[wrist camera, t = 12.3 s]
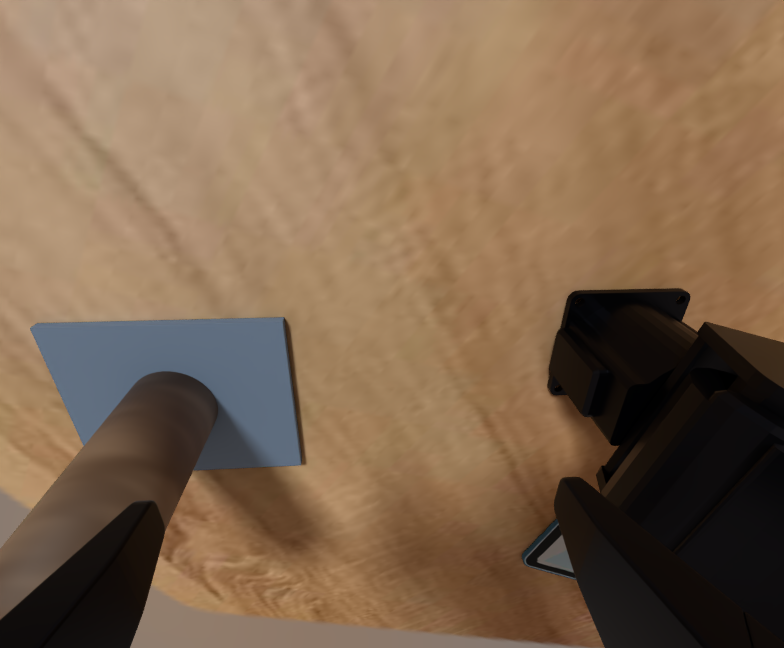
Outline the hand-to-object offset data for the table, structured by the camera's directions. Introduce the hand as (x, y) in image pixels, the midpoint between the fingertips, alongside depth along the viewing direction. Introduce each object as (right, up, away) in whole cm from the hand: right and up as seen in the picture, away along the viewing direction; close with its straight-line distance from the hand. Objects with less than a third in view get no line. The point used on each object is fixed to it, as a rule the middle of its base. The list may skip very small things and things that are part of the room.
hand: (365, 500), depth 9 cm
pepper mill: (-11, -1, +14) cm, 18 cm away
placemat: (-11, 0, +14) cm, 18 cm away
